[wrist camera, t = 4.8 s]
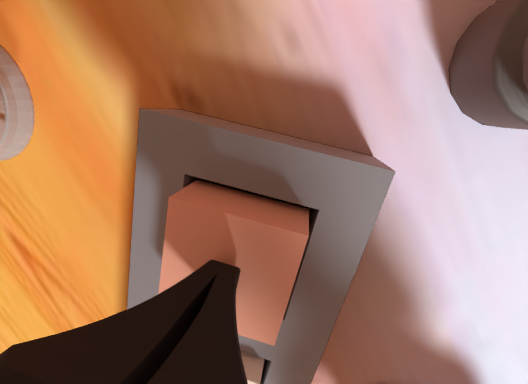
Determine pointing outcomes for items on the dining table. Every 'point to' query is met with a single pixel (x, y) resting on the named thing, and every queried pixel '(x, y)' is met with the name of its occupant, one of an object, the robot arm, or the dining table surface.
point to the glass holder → (14, 108)
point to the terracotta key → (238, 249)
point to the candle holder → (494, 66)
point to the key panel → (269, 184)
